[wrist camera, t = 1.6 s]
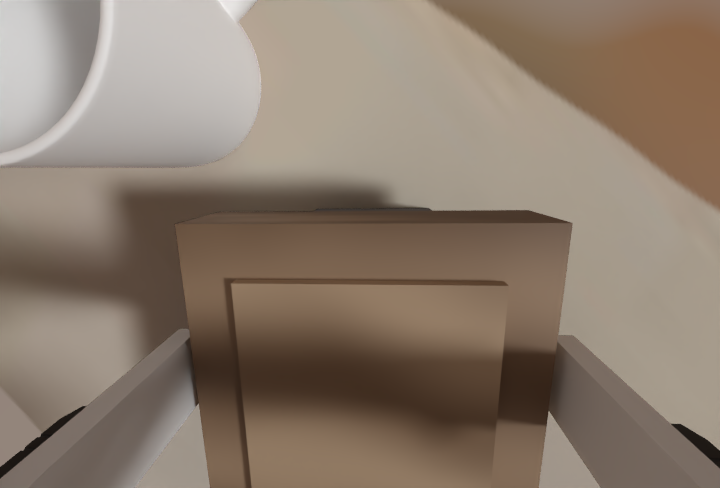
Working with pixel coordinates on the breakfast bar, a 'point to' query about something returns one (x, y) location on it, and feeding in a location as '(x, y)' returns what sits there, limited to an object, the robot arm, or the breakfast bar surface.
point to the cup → (125, 82)
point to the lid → (374, 345)
